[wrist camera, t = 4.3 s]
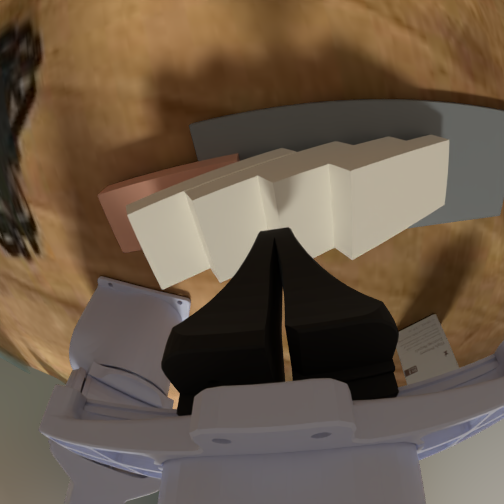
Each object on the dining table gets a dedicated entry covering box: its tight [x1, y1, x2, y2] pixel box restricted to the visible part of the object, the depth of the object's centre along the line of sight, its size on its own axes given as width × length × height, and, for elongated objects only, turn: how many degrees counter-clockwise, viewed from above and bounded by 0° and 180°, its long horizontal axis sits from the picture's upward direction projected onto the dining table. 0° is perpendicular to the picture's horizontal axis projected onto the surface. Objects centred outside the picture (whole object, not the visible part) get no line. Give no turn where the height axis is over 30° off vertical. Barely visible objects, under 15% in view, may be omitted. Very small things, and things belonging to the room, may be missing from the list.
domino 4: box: [328, 135, 449, 260], centre depth 15 cm, size 2×5×10 cm
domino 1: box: [126, 148, 296, 290], centre depth 16 cm, size 2×5×10 cm
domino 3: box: [257, 136, 405, 258], centre depth 16 cm, size 2×5×10 cm
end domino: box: [97, 153, 240, 253], centre depth 19 cm, size 2×5×10 cm
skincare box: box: [396, 314, 459, 385], centre depth 24 cm, size 6×4×12 cm
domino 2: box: [184, 141, 353, 283], centre depth 16 cm, size 2×5×10 cm
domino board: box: [189, 99, 504, 228], centre depth 18 cm, size 26×10×1 cm, turn 101°
